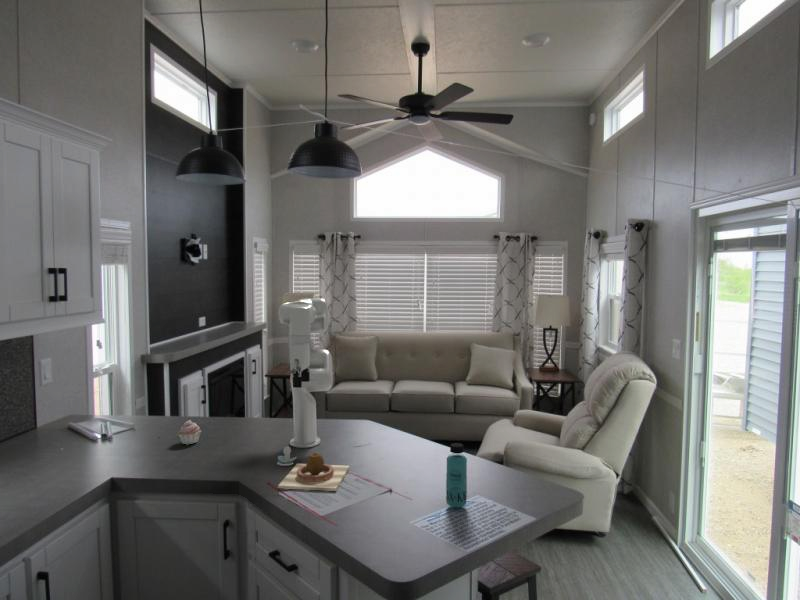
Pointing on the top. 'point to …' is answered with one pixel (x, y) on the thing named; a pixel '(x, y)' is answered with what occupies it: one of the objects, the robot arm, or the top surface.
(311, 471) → the fruit
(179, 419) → the top surface
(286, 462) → the pacifier
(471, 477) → the top surface
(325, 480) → the ring board
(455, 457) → the beverage bottle
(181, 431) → the cupcake
